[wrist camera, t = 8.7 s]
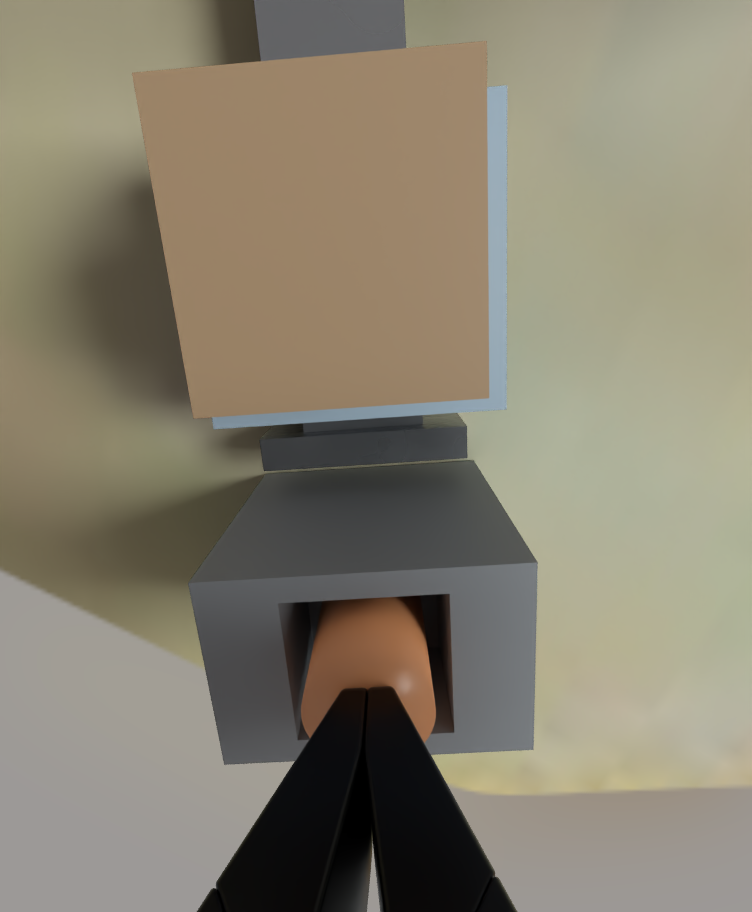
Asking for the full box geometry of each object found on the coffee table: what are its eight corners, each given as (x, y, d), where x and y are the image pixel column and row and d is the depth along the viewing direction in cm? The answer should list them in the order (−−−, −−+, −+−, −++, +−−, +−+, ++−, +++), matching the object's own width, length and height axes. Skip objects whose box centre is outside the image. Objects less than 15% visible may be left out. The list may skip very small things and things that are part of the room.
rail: (425, -666, 8) (439, -951, 7) (455, 437, 14) (467, 457, 12) (139, -629, 9) (70, -897, 7) (279, 449, 14) (264, 471, 12)
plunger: (418, 560, 11) (433, 653, 8) (423, 647, 11) (438, 763, 8) (317, 565, 11) (293, 660, 8) (326, 652, 11) (308, 770, 8)
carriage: (479, 136, 12) (600, -84, 5) (482, 390, 13) (577, 463, 7) (209, 158, 12) (3, -27, 5) (245, 406, 13) (122, 493, 7)
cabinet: (473, 460, 14) (537, 562, 8) (475, 584, 15) (533, 749, 9) (265, 473, 14) (187, 583, 9) (282, 595, 15) (224, 764, 10)
